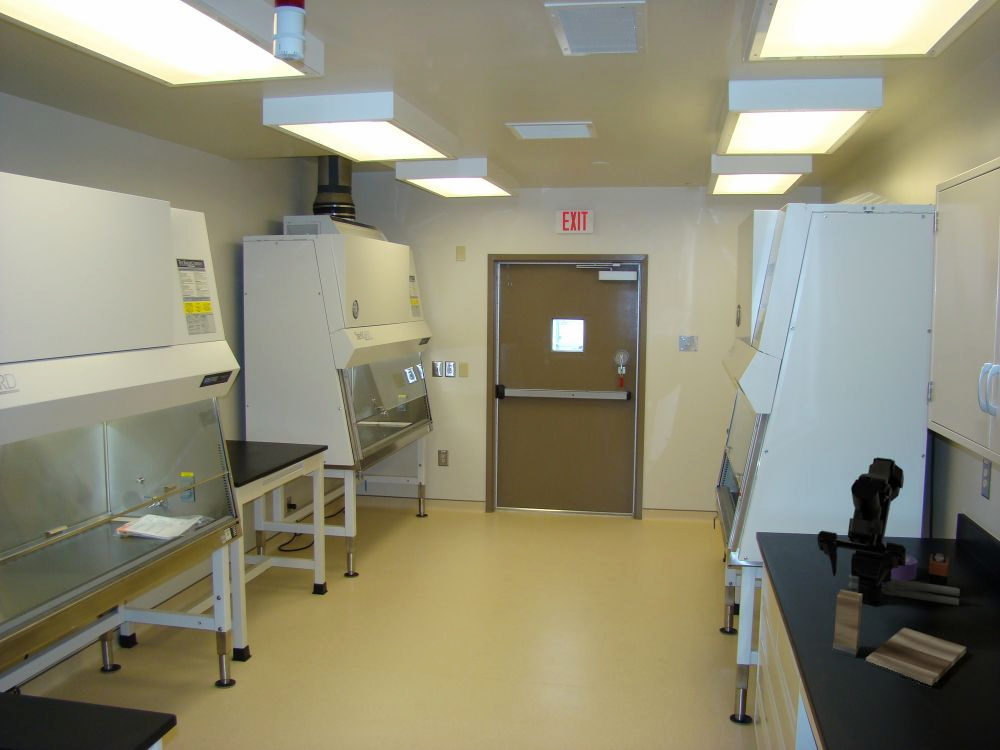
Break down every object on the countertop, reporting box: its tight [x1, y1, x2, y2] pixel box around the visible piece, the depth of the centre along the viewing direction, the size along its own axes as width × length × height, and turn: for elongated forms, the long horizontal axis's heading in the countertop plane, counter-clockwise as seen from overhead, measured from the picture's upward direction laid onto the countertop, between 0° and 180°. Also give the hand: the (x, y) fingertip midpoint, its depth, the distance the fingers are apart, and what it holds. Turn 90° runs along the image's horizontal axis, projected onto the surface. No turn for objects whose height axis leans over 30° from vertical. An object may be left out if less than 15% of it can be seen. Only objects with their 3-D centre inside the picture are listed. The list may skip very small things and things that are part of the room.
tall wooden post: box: [832, 589, 863, 655], centre depth 168 cm, size 5×5×13 cm
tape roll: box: [891, 553, 918, 581], centre depth 216 cm, size 12×12×5 cm
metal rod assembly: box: [848, 573, 961, 607], centre depth 200 cm, size 26×3×5 cm, turn 67°
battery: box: [927, 552, 950, 596], centre depth 203 cm, size 4×7×10 cm, turn 149°
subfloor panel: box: [865, 627, 967, 686], centre depth 166 cm, size 22×13×2 cm, turn 133°
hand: (855, 580), depth 174 cm, fingers open, 9 cm apart
